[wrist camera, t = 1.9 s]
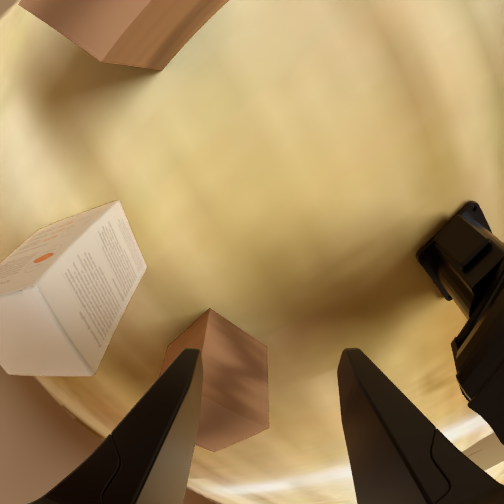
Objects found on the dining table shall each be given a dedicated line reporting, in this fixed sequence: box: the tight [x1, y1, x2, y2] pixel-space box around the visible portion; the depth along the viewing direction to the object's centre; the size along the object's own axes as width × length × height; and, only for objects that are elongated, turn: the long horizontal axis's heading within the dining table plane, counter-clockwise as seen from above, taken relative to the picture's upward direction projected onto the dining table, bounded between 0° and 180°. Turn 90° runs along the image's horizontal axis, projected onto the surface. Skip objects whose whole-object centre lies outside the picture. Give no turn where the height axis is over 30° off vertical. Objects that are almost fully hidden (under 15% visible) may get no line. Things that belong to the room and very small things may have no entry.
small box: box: [0, 200, 147, 376], centre depth 17 cm, size 8×6×10 cm
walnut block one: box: [159, 308, 269, 452], centre depth 22 cm, size 6×6×8 cm
